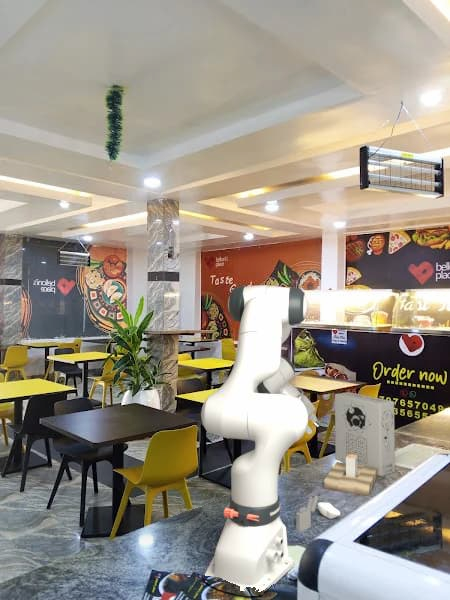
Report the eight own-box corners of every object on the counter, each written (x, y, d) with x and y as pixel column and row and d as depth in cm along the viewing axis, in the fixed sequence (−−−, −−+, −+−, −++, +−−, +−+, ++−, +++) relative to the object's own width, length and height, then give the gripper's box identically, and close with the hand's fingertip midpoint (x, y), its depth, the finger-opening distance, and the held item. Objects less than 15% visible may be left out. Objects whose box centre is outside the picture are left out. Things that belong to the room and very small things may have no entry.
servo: (355, 483, 155) (354, 456, 155) (346, 482, 156) (345, 455, 156) (357, 479, 158) (357, 453, 158) (348, 477, 160) (348, 451, 160)
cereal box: (395, 472, 166) (394, 401, 166) (380, 476, 162) (379, 404, 162) (349, 455, 184) (348, 391, 184) (335, 459, 180) (334, 394, 180)
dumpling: (313, 516, 133) (312, 502, 133) (323, 510, 137) (323, 496, 137) (334, 524, 128) (334, 509, 128) (344, 518, 132) (344, 503, 132)
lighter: (300, 531, 124) (299, 501, 124) (295, 529, 126) (295, 499, 126) (319, 524, 128) (318, 494, 129) (314, 521, 130) (313, 492, 130)
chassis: (369, 496, 146) (369, 486, 146) (324, 488, 152) (324, 479, 152) (377, 476, 162) (377, 467, 162) (336, 470, 169) (336, 462, 169)
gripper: (284, 398, 157) (313, 431, 152) (302, 387, 175) (328, 416, 171) (271, 410, 159) (300, 443, 154) (290, 399, 177) (316, 427, 173)
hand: (315, 429), depth 163 cm, fingers open, 8 cm apart
